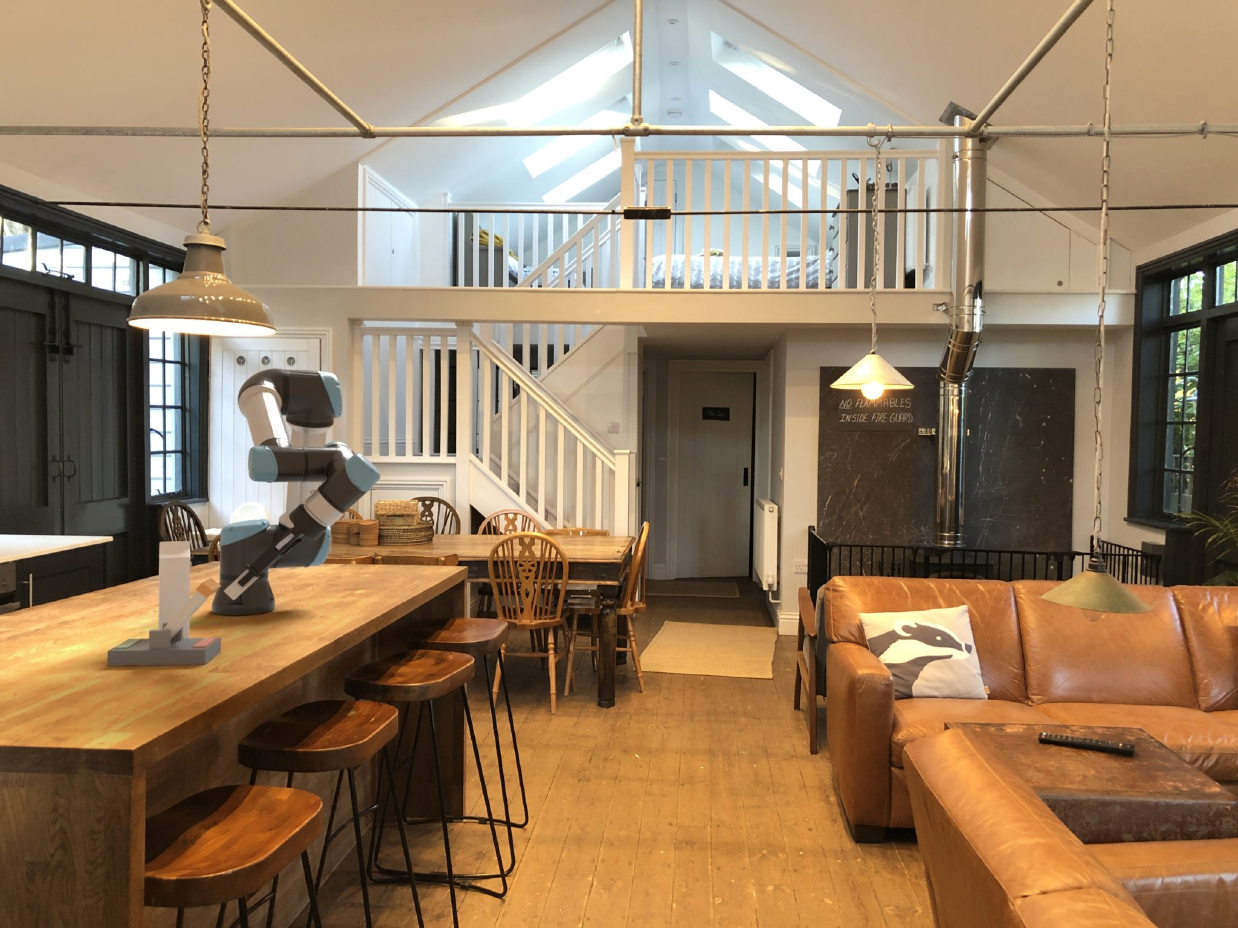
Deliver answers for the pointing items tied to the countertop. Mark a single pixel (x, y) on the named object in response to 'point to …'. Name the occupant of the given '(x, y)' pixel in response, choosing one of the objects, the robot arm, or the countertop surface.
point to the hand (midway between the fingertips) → (229, 594)
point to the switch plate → (164, 650)
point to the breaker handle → (192, 606)
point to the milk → (173, 581)
